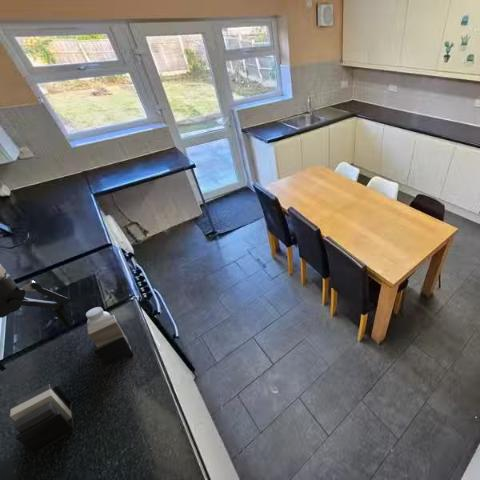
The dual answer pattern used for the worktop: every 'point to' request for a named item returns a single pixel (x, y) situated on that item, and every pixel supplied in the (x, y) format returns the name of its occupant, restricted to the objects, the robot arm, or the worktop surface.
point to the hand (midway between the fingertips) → (37, 346)
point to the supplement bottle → (96, 315)
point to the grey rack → (43, 421)
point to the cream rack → (109, 340)
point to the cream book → (40, 405)
